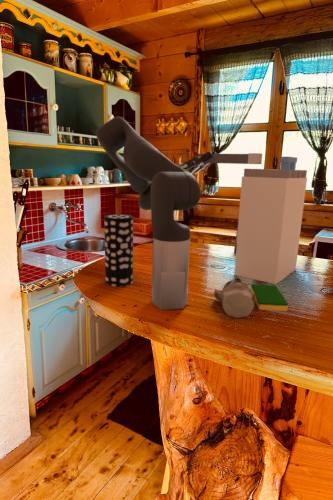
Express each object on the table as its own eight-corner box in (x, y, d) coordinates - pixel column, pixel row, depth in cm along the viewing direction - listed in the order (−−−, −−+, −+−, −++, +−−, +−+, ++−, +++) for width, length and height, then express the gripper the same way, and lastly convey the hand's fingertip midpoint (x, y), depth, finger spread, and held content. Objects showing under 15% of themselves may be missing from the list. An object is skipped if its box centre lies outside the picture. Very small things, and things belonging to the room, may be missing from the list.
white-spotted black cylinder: (136, 279, 106) (137, 215, 101) (126, 288, 98) (126, 219, 93) (112, 276, 108) (111, 213, 103) (100, 284, 100) (99, 217, 95)
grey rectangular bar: (261, 164, 107) (262, 153, 106) (257, 164, 105) (258, 153, 104) (202, 162, 120) (202, 153, 119) (197, 162, 118) (197, 153, 117)
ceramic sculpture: (217, 284, 77) (214, 269, 91) (215, 320, 78) (212, 299, 93) (265, 287, 76) (254, 271, 91) (261, 324, 78) (251, 302, 92)
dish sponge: (258, 311, 86) (259, 302, 85) (250, 291, 99) (251, 283, 98) (287, 312, 85) (288, 303, 84) (275, 292, 98) (275, 285, 98)
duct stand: (295, 269, 120) (309, 157, 111) (275, 284, 104) (289, 155, 95) (258, 262, 128) (268, 157, 119) (234, 274, 113) (243, 155, 103)
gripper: (161, 168, 121) (198, 142, 110) (184, 169, 131) (219, 145, 121) (169, 187, 120) (207, 163, 109) (191, 186, 131) (227, 164, 120)
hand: (213, 154), depth 115 cm, fingers closed on grey rectangular bar, 3 cm apart
